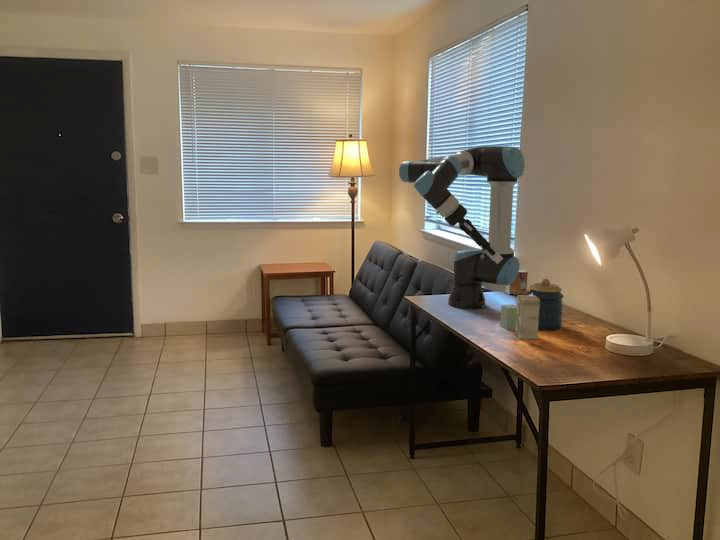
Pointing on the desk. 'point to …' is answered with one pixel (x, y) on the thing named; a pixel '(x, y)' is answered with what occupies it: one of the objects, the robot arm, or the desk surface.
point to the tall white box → (527, 317)
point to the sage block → (508, 316)
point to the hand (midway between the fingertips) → (498, 259)
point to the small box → (518, 284)
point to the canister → (548, 304)
